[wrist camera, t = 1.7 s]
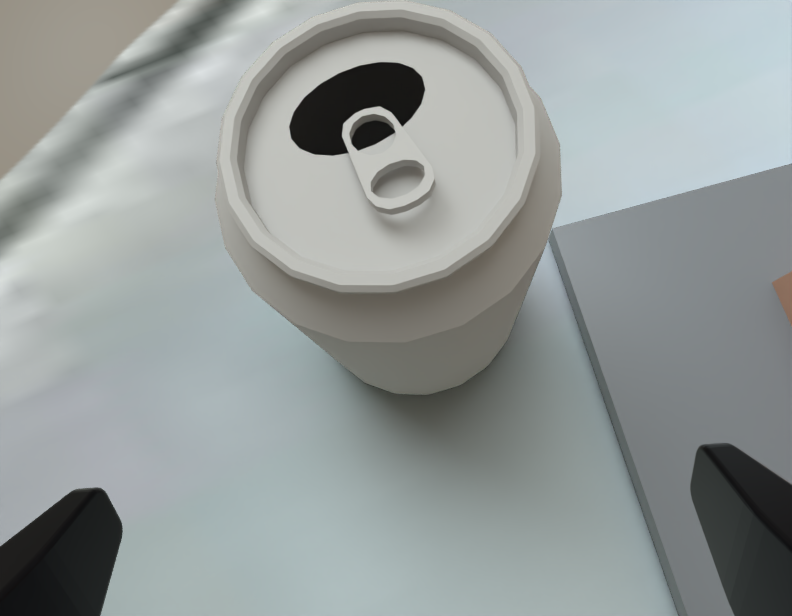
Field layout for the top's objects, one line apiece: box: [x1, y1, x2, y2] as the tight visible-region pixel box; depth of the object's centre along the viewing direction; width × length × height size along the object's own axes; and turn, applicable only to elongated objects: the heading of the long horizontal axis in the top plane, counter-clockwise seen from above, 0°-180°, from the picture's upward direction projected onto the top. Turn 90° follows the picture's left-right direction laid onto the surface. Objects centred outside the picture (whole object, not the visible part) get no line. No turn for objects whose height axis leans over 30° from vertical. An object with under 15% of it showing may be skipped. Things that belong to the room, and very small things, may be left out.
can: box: [215, 0, 562, 395], centre depth 17 cm, size 8×8×12 cm
